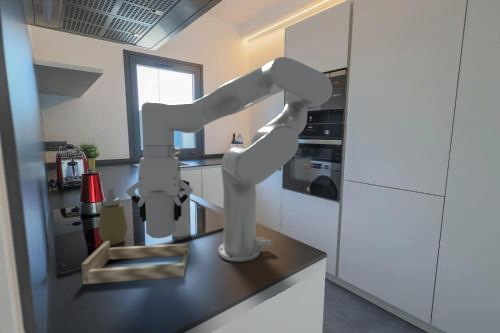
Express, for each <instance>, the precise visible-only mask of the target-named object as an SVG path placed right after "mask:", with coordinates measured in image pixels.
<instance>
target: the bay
mask: <svg viewBox="0 0 500 333" xmlns="http://www.w3.org/2000/svg"><path fill="white" fill-rule="evenodd" d="M189 246H190V244H189V243H173V244H172V243H171V244H170V243H169V244H157V245H156V244H153V245H152V244H151V245H135V246H133V245H131V246H117V247H116V246H115V247H111V245H110V241H105V242H104V243H103V242H102V243H101V244H100V246H98V247H97V248H96V249H95V250H94V251H93V252H92V253H91V254H90V255H89V256H88V257H87V258H86V259H85V260H84V261H83V262H82V263H81V264H80V266H81V275H82V276H81V278H82V284H83V285H90V284H91V285H92V284H103V283H104V284H105V283H117V282H118V283H119V282H130V281H132V282H133V281H144V280H156V279H157V280H159V279H171V278H184V277H185V274H186V268H187V265H188V264H187V263H188V260H189V254H190V247H189ZM175 256H176V257H177V256H178V257H179V256H183V257H182V260H181V263H179V262H177V263H163V264H150V265H148V264H146V265H132V266H129V265H128V266H117V267H105V265H106V264H108V261H110V260H109V259H112V260H127V259H139V258H140V259H141V258H142V259H143V258H144V259H145V258H159V257H175Z"/></svg>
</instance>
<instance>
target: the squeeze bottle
mask: <svg viewBox="0 0 500 333" xmlns="http://www.w3.org/2000/svg"><path fill="white" fill-rule="evenodd" d="M120 199H121V198H120V197H117V196H116V193H115V191H114V187H108V189H107V196H106V198H104V199H103V200H102V206H101V207H100V209H99V222H98V223H99V224H98V225H99V228H98V234H99V237H100V239H101V241H102V244H103V243H104V242H105V241H110V246H115V245H119V244H122V243H123V242H124V241H125V238H126V236H127V232H128V225H127V219H126V214H125V213H126V212H125V208H124V205H123V204H122V203H121V200H120Z"/></svg>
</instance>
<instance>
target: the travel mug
mask: <svg viewBox="0 0 500 333" xmlns="http://www.w3.org/2000/svg"><path fill="white" fill-rule="evenodd" d="M181 181H183V182H184V183H186V184H187V185H188V186H190V181H187V180H183V179H181ZM185 193H186V190H184V189H183V188H181V191H180V192H179V195H180V197H182V196H183V195H184V194H185ZM190 196H191V194H190V195H189V197H188V198H187V199H186V200H185V201H184V202H183V203H182V204H181V210H182V215H181V217H179V219H178V221H176V231H175V232H174V233H173V234H172V235H171V237H172V238H173V239H174V238H175V239H174V240H184V239H183V238H186V239H188V238H190V237H191V235H192V230H191V197H190ZM189 236H190V237H189ZM187 237H188V238H187Z"/></svg>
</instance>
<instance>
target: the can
mask: <svg viewBox="0 0 500 333" xmlns="http://www.w3.org/2000/svg"><path fill="white" fill-rule="evenodd" d="M149 193H150V195H148V196H147V197H145V214H146V221H145V233H146V235H147V236H149V237H151V238H153V239H163V238H168V237H171V236H172V234H173V233H174V232H175V231H176V220H175V205H176V203H175V201H174V197H172V196H170V195H168V194H167V193H168V192H149Z"/></svg>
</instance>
